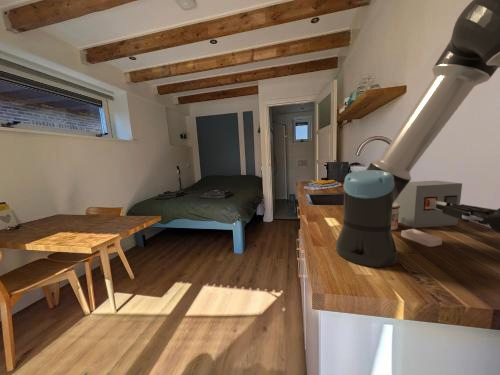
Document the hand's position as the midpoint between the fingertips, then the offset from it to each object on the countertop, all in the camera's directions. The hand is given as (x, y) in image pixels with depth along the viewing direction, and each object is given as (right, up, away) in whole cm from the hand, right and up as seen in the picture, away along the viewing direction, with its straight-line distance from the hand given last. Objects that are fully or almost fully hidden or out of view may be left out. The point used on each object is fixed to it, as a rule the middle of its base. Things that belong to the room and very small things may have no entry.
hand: (431, 203), depth 74 cm
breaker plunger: (0, -1, +5) cm, 6 cm away
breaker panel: (+3, -8, +7) cm, 11 cm away
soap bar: (-12, -12, -9) cm, 19 cm away
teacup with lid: (-14, -9, +5) cm, 17 cm away
